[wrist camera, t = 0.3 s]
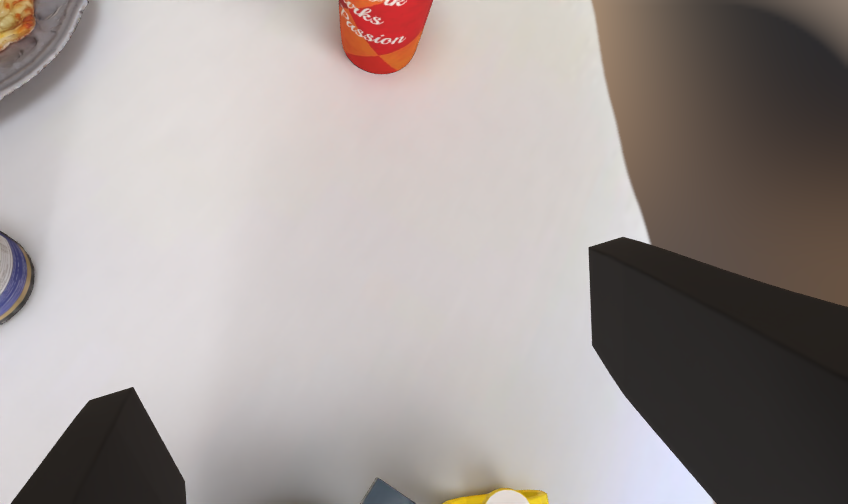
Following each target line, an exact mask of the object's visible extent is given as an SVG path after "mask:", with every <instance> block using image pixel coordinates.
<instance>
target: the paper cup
mask: <svg viewBox="0 0 848 504" xmlns="http://www.w3.org/2000/svg"><path fill="white" fill-rule="evenodd" d="M432 2H433V0H339V14H340V29H341V39H342V45H343V49H344V51H345V53H346V55H347V57H348V58H349V59H350V60H351V61H352V62H353V63H354V64H355V65H356V66H358V67H359V68H361V69H363V70H365V71H367V72H371V73H375V74H388V73H393V72H396V71H398V70H400V69H402V68H403V67H405V66H406V65H407V64H408V63H409V62H410V60H411V59H412V57H413V55H414V53H415V51H416V48H417V45H418V43H419V40H420V37H421V34H422V31H423V28H424V25H425V23H426V20H427V17H428V14H429V11H430V8H431V5H432Z"/></svg>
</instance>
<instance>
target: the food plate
mask: <svg viewBox="0 0 848 504" xmlns="http://www.w3.org/2000/svg"><path fill="white" fill-rule="evenodd" d="M88 3H89V1H88V0H0V100H1V99H3V98H4V95H8V94H10V93H13V91H14V90H15V89H18V88H20V85H22V86H23V84H24V83H27V82H28V81H29V79H30V80H31V78H32V77H35V76H36V75H38V74H39V72H41V70H42V69H44V68H45V66H47V65H48V64H49V63H51V62H52V59H53V58H55V57H57V55H58V52H59V53H60V50H62V49H63V47H64V46H65V44H66V43H67V42H68V40H69V39H70V38H71V34H73V32H74V31H75V28H76V27H77V24H78V23H79V21H80V19H81V15H82V13H83V11H84V9H85V8H86V6H87V5H88Z"/></svg>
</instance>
